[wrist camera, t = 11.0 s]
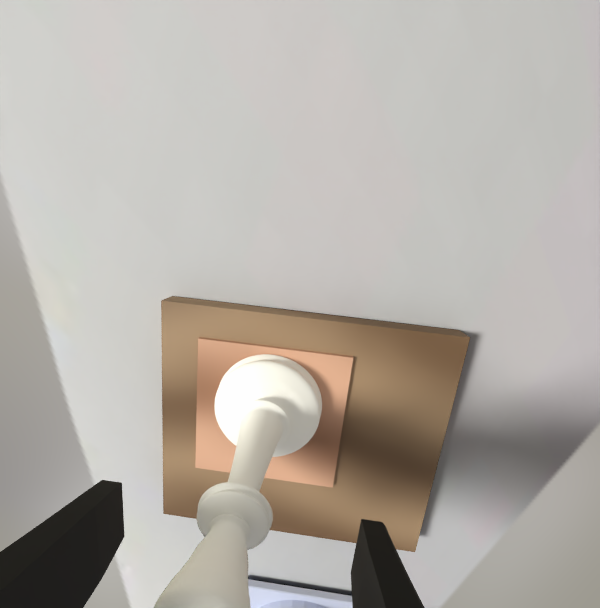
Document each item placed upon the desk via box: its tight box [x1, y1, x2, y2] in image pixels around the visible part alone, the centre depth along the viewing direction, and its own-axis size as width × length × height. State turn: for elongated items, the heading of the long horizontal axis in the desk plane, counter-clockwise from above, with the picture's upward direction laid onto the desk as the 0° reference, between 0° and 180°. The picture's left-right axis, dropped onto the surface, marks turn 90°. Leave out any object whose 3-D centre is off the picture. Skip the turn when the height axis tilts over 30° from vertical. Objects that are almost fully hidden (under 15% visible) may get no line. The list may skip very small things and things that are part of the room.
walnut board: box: [161, 296, 470, 552], centre depth 14 cm, size 12×14×1 cm
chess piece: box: [154, 354, 322, 608], centre depth 9 cm, size 5×5×10 cm
